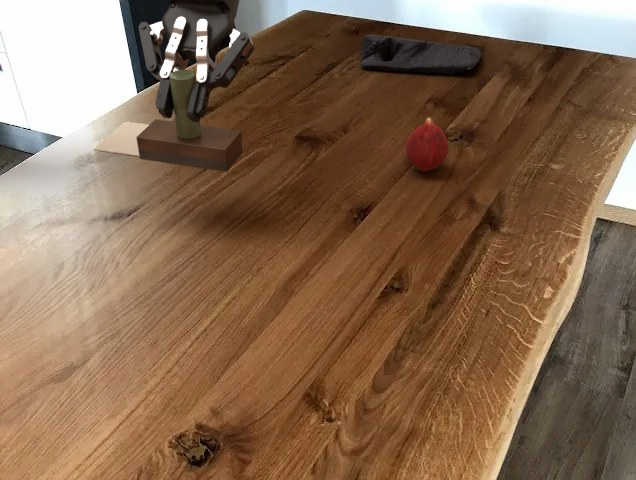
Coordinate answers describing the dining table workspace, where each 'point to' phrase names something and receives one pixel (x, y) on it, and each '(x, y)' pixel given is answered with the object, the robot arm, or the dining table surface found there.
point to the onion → (427, 146)
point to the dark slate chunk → (416, 55)
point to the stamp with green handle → (188, 135)
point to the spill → (123, 139)
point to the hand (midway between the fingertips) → (178, 116)
